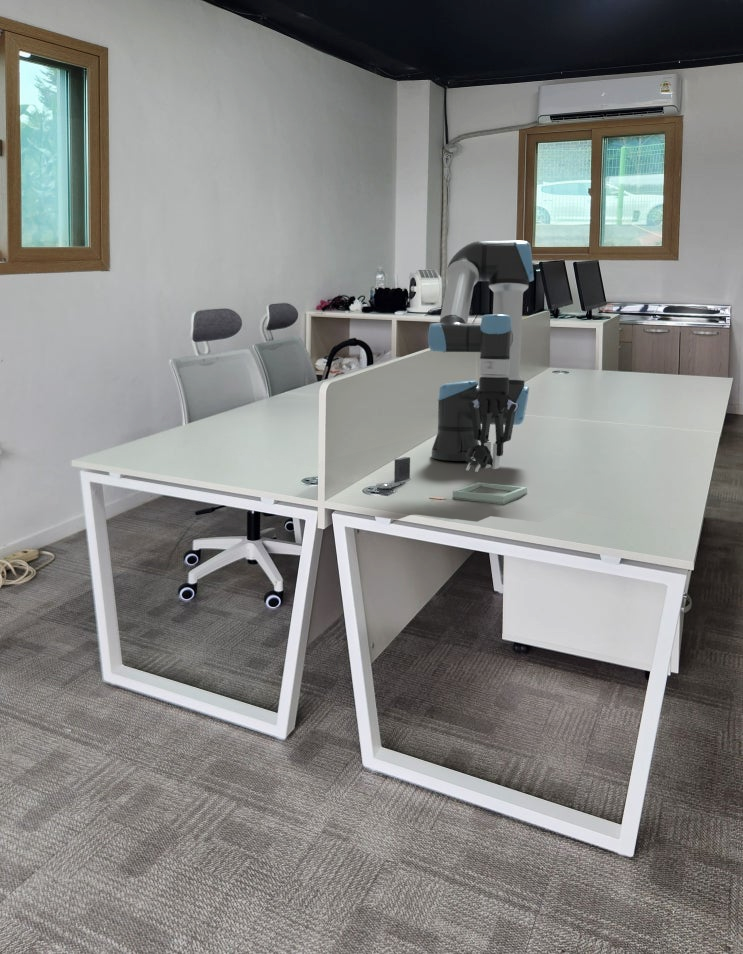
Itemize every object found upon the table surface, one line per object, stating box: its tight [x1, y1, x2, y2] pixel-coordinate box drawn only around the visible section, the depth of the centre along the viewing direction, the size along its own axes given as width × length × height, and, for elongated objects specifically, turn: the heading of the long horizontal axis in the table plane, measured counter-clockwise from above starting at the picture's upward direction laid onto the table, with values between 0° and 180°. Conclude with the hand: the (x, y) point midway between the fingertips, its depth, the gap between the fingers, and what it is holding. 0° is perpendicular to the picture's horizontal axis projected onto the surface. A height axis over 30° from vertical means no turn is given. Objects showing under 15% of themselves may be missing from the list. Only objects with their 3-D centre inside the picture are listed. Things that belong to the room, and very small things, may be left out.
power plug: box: [465, 444, 493, 473], centre depth 218 cm, size 6×8×12 cm
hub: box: [374, 488, 395, 496], centre depth 228 cm, size 7×7×1 cm
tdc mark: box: [429, 496, 446, 501], centre depth 220 cm, size 1×4×1 cm, turn 59°
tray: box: [452, 482, 528, 505], centre depth 224 cm, size 16×14×2 cm
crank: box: [375, 456, 412, 489], centre depth 232 cm, size 15×4×7 cm, turn 149°
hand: (491, 467), depth 223 cm, fingers closed on power plug, 2 cm apart
